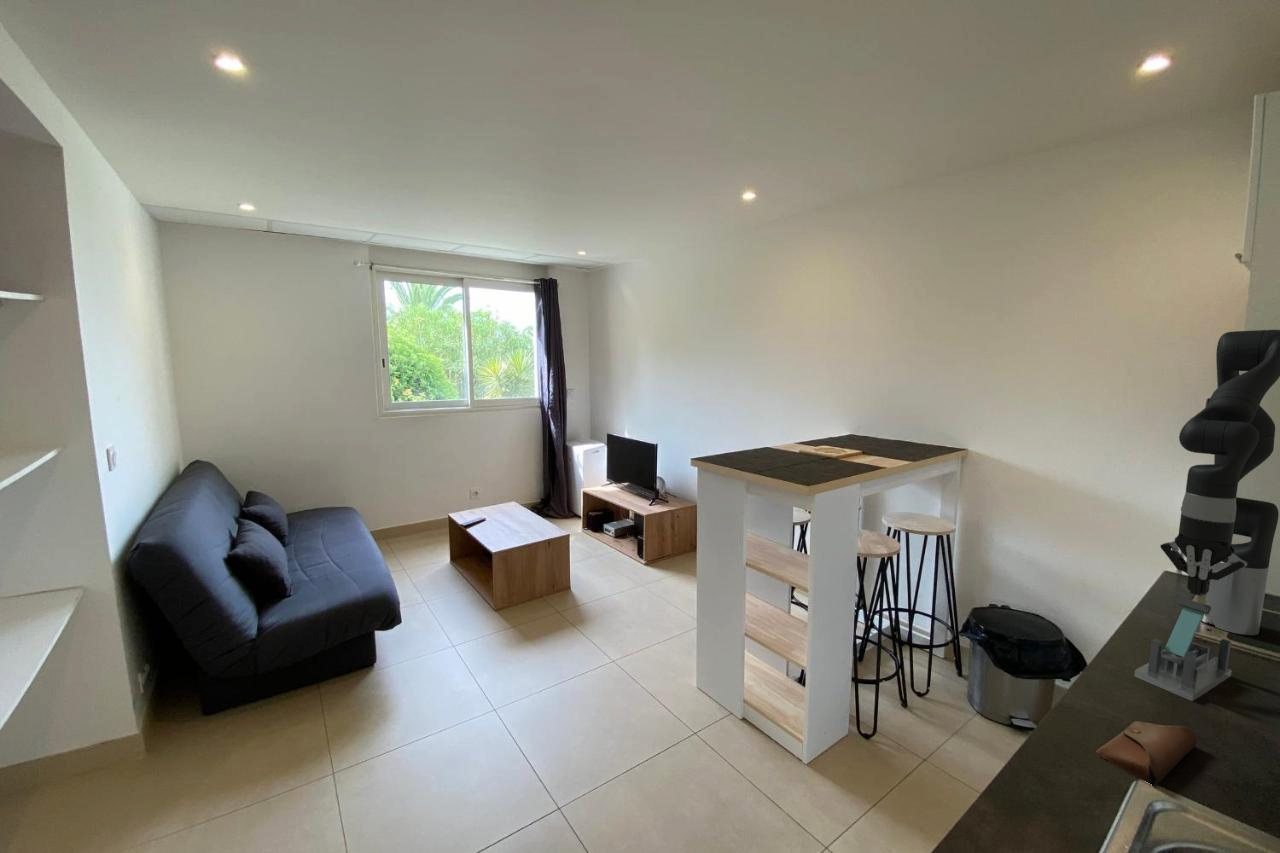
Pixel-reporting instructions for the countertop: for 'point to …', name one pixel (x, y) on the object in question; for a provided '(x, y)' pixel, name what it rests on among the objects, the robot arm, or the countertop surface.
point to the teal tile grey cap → (1184, 629)
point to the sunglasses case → (1149, 749)
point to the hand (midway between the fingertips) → (1197, 593)
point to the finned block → (1186, 670)
